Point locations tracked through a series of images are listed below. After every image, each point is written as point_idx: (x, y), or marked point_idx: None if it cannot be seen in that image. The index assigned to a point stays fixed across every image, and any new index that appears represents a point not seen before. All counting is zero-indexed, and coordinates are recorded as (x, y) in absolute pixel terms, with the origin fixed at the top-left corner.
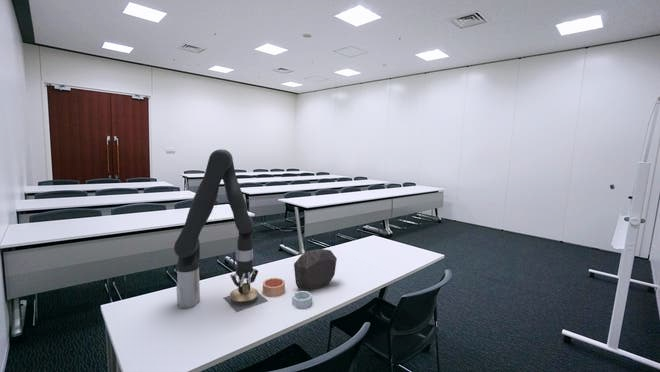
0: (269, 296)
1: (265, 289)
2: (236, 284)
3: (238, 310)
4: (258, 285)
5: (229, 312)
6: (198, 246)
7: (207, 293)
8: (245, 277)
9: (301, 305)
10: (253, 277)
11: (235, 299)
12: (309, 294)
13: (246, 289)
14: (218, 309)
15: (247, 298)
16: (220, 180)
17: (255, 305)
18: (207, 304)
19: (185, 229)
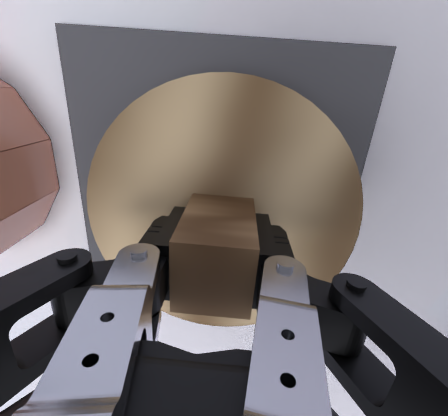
0: (18, 101)
1: (1, 154)
2: (390, 302)
3: (366, 62)
4: (47, 307)
5: (423, 102)
6: None
7: (348, 397)
8: (193, 374)
9: None
10: (12, 309)
11: (356, 171)
12: None
13: (207, 216)
14: (441, 203)
15: (253, 102)
16: None
17: (198, 33)
18: (437, 303)
19: None
